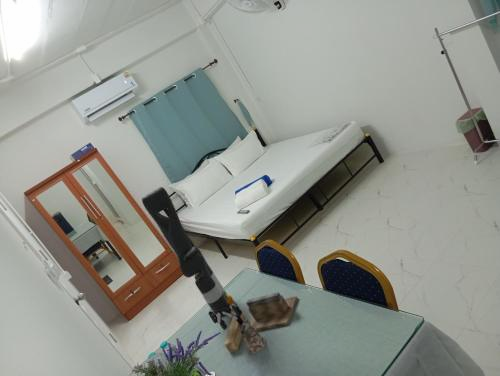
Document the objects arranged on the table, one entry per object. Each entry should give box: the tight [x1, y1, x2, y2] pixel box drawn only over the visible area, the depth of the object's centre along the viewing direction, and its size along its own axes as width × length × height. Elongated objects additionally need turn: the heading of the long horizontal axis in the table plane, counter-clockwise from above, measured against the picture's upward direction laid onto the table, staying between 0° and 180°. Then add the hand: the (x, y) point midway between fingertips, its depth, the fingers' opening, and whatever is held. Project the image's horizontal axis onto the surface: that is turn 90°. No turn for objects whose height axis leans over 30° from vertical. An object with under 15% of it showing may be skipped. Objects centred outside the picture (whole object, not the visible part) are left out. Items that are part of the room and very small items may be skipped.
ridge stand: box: [245, 291, 299, 332], centre depth 190 cm, size 20×16×10 cm
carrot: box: [221, 290, 235, 314], centre depth 204 cm, size 5×5×15 cm
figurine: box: [238, 321, 266, 354], centre depth 176 cm, size 7×7×12 cm
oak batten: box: [223, 311, 248, 354], centre depth 192 cm, size 4×20×5 cm, turn 168°
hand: (233, 326), depth 191 cm, fingers open, 8 cm apart
